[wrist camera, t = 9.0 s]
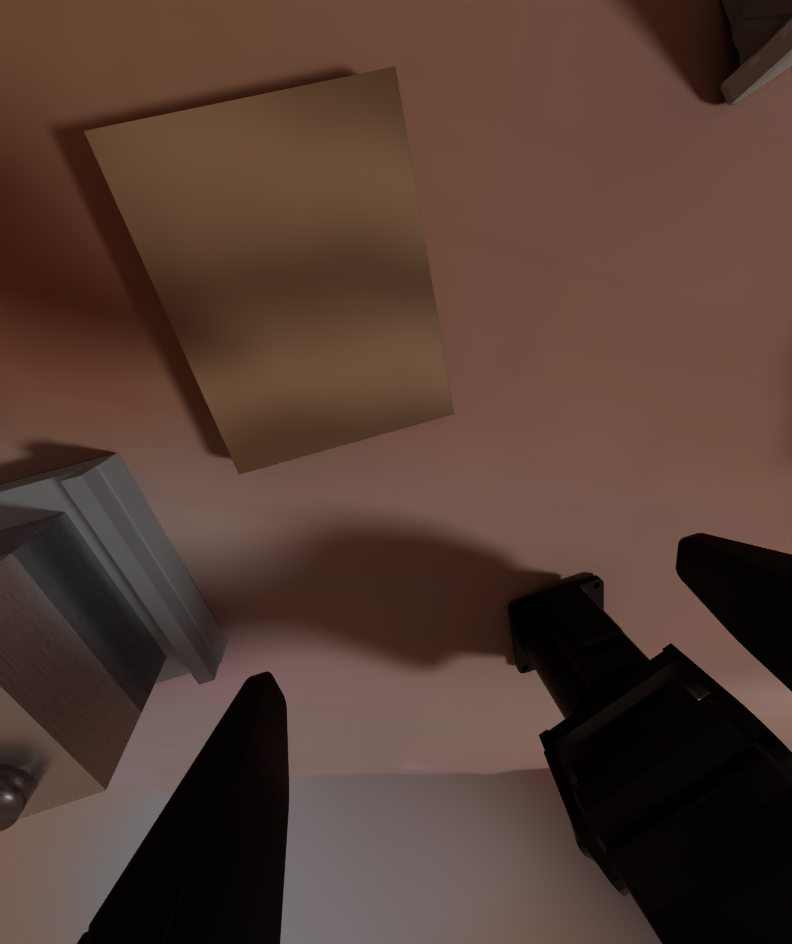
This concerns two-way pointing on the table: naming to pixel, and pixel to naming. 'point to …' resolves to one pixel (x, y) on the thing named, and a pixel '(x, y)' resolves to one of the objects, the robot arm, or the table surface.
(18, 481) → the cabinet frame
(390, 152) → the stand
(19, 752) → the grey drawer
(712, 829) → the robot arm
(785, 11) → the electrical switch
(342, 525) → the table surface
